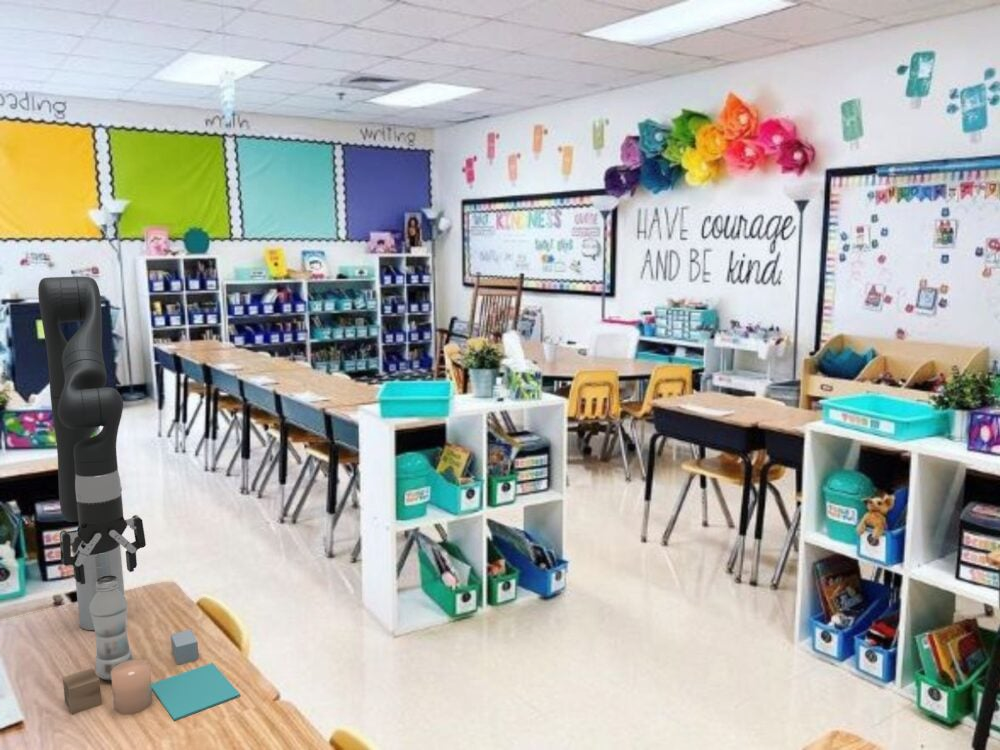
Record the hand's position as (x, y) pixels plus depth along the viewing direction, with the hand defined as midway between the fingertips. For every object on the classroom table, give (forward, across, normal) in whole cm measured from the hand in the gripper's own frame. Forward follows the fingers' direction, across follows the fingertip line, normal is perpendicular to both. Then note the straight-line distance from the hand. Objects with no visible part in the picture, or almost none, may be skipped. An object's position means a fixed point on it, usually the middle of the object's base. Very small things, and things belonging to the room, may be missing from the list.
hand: (106, 576), depth 152 cm
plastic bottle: (+21, 0, 0) cm, 21 cm away
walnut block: (+21, +7, +6) cm, 23 cm away
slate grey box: (+21, -13, +1) cm, 24 cm away
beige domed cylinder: (+21, 0, +12) cm, 24 cm away
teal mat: (+21, -10, +15) cm, 27 cm away
